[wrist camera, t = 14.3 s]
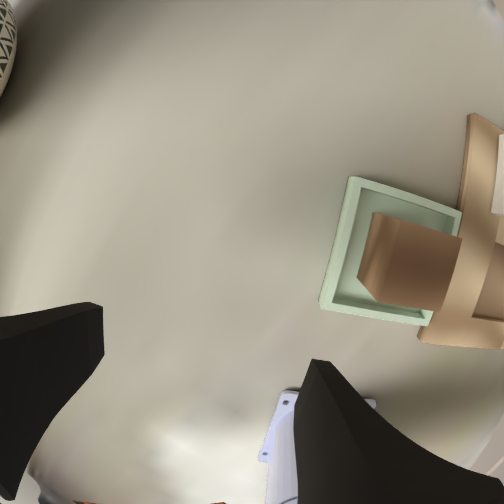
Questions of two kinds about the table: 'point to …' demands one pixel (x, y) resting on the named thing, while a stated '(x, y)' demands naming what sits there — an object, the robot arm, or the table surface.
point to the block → (407, 263)
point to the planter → (7, 42)
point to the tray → (353, 242)
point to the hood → (499, 182)
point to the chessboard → (93, 503)
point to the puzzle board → (475, 252)
